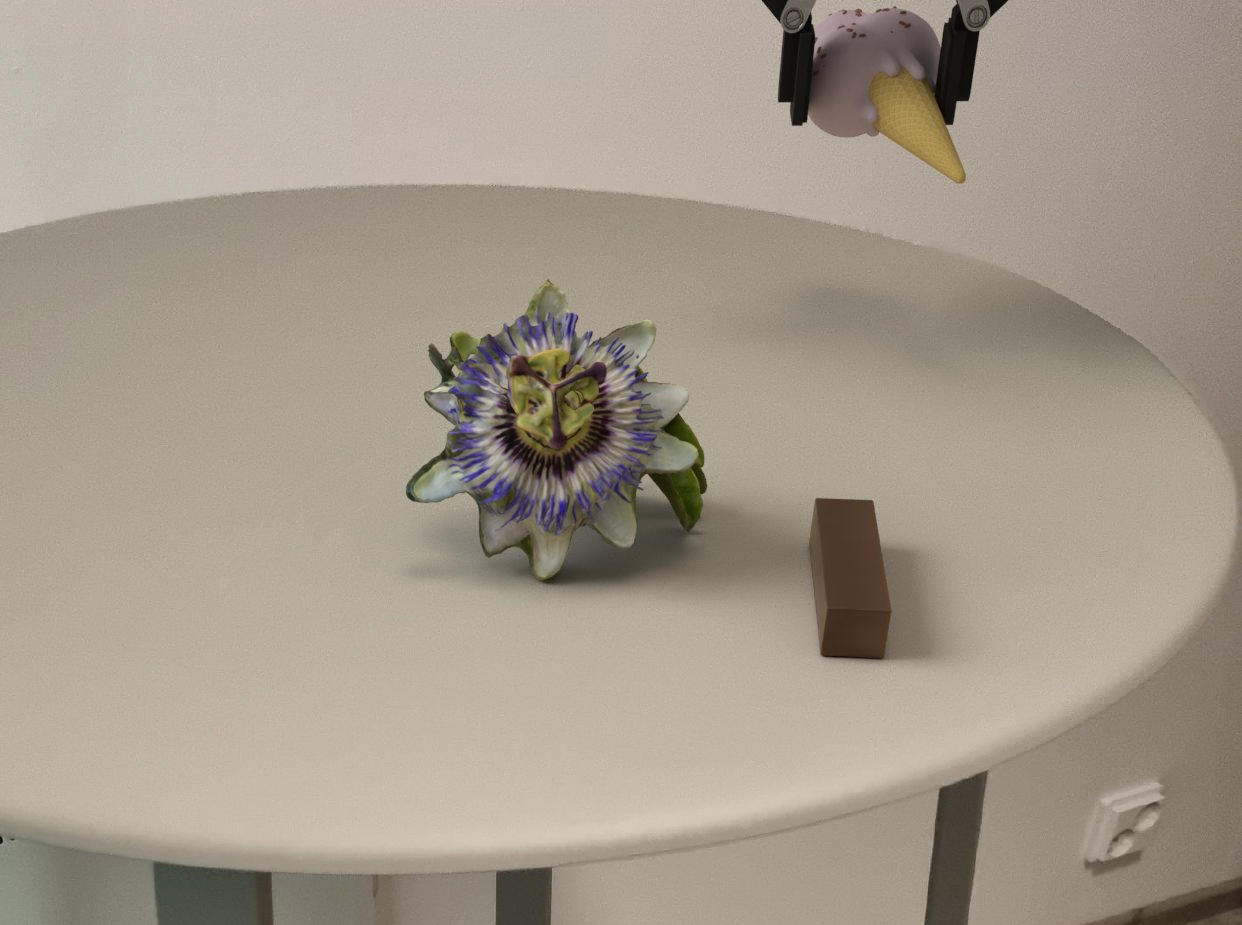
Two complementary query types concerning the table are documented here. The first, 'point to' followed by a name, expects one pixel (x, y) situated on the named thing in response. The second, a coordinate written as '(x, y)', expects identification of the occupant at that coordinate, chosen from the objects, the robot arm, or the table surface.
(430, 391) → the passion flower
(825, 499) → the rectangular block
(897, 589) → the table surface
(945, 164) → the ice cream cone
